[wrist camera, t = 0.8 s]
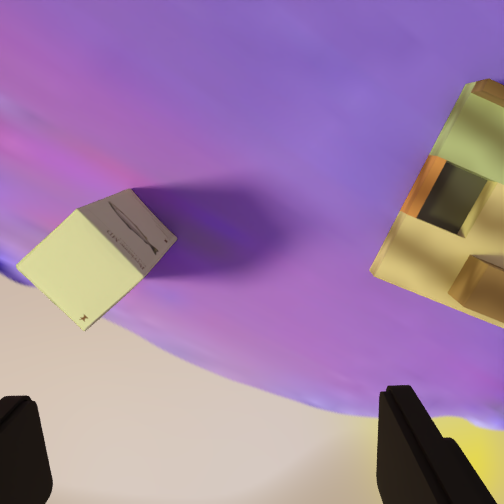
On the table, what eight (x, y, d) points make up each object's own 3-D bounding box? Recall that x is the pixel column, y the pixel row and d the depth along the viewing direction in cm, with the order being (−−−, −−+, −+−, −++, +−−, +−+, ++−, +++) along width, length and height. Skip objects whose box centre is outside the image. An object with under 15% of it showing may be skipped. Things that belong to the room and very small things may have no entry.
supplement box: (180, 238, 43) (148, 279, 31) (131, 280, 44) (82, 335, 32) (131, 185, 41) (76, 206, 29) (82, 230, 43) (11, 268, 31)
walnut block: (469, 254, 40) (488, 265, 37) (509, 270, 41) (531, 282, 37) (447, 293, 42) (463, 307, 38) (485, 308, 42) (505, 323, 39)
